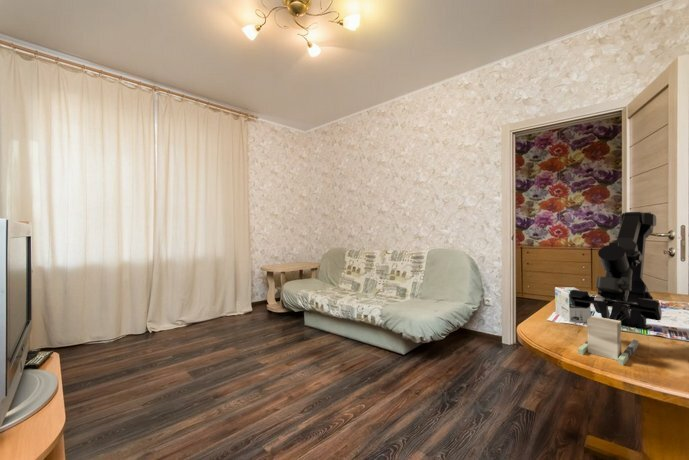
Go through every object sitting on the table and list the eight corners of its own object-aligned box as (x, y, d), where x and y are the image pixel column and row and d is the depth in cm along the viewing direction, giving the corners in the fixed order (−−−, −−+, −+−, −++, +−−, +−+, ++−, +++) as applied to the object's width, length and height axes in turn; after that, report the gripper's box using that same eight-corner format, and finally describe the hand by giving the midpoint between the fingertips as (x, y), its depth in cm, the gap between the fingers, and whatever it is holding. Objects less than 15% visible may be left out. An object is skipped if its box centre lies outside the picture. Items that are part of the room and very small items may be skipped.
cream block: (592, 348, 84) (591, 315, 84) (621, 355, 79) (620, 321, 79) (587, 352, 82) (587, 319, 81) (617, 360, 77) (616, 324, 76)
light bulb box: (591, 325, 103) (591, 293, 103) (569, 325, 105) (568, 293, 104) (574, 315, 114) (574, 286, 113) (554, 315, 115) (553, 286, 115)
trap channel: (597, 339, 92) (597, 332, 92) (638, 348, 85) (638, 340, 85) (578, 357, 81) (578, 348, 81) (623, 369, 74) (623, 360, 74)
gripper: (570, 262, 92) (557, 306, 85) (659, 268, 77) (651, 322, 70) (579, 284, 97) (567, 327, 90) (664, 294, 82) (657, 346, 75)
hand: (606, 330), depth 82 cm, fingers closed, pressing on cream block
